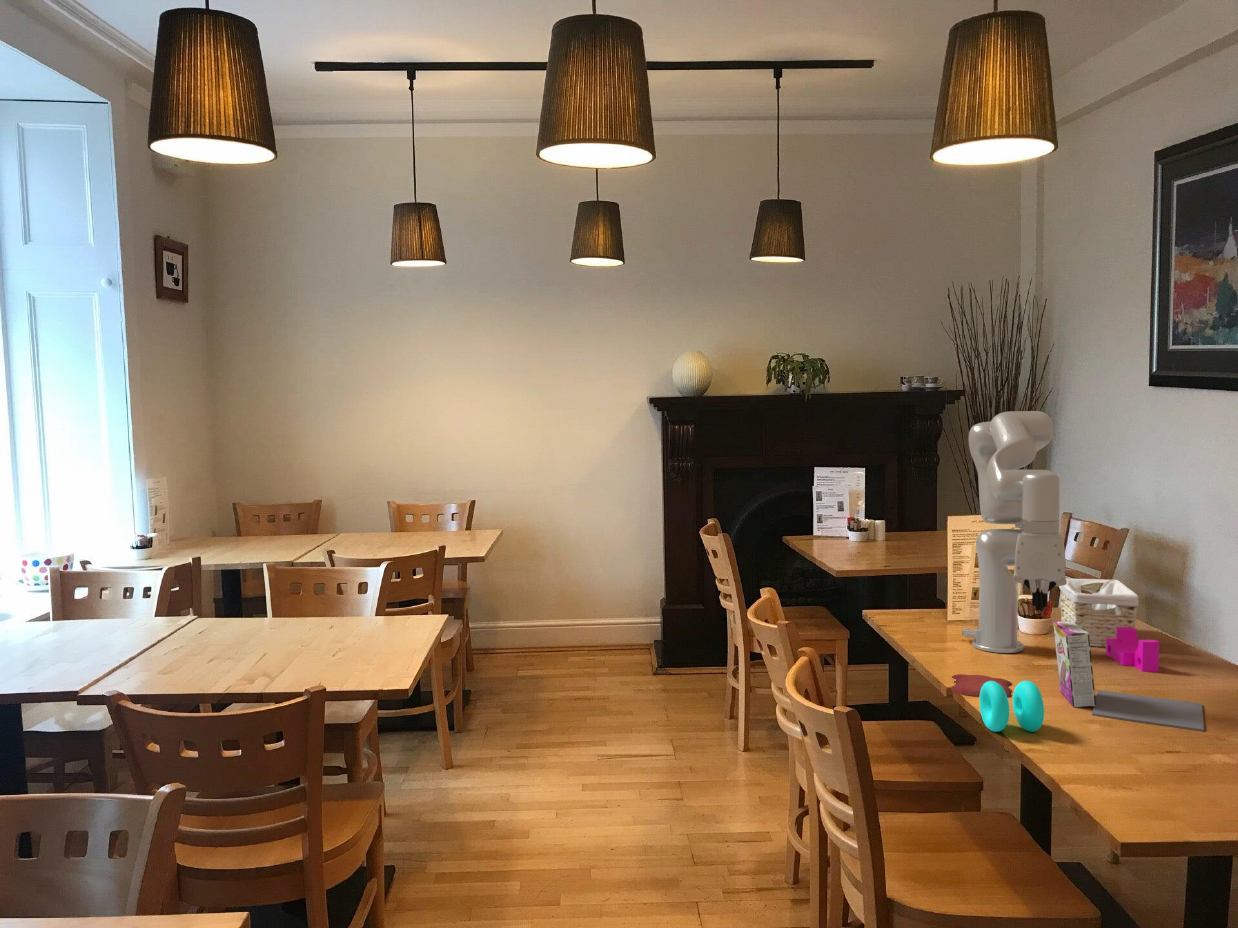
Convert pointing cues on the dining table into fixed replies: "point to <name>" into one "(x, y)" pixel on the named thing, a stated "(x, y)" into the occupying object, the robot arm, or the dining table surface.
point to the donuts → (1024, 706)
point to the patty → (976, 684)
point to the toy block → (1133, 650)
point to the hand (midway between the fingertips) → (1039, 609)
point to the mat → (1149, 710)
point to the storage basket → (1099, 607)
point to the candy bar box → (1074, 664)
